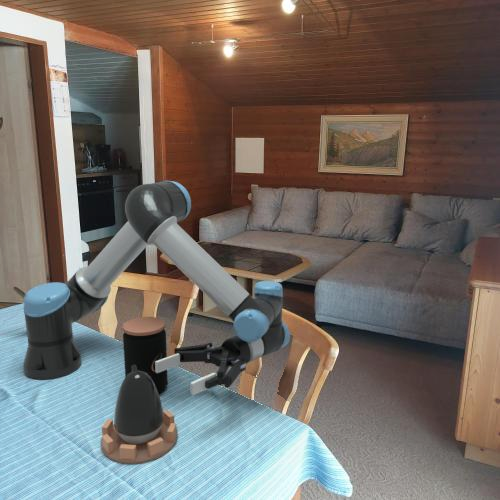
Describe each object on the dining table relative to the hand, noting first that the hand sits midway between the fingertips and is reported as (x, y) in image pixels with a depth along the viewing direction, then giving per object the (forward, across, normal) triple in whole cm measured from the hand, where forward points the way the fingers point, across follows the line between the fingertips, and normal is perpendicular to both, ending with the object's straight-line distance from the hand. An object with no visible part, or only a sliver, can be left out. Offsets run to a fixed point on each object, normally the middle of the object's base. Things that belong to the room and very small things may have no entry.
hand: (172, 377), depth 102 cm
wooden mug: (+3, +74, -11) cm, 75 cm away
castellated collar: (+9, 0, -11) cm, 14 cm away
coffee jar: (-4, +17, -11) cm, 21 cm away
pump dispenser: (+9, 0, -10) cm, 14 cm away
